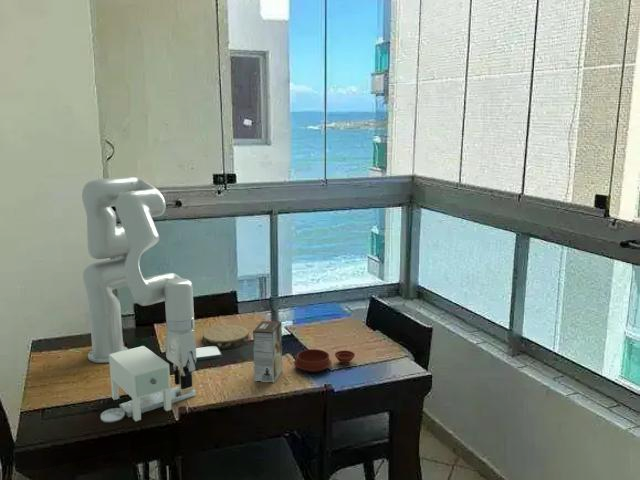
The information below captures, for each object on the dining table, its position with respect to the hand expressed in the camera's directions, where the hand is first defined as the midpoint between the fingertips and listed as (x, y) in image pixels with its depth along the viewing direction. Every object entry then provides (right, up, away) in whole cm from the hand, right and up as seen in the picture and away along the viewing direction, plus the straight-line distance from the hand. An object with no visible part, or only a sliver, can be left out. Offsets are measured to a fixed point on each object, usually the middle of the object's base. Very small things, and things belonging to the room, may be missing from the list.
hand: (183, 384), depth 166 cm
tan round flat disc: (+5, +5, +41) cm, 42 cm away
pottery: (+40, +1, +20) cm, 45 cm away
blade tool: (-6, -4, -4) cm, 8 cm away
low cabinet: (-10, -4, -5) cm, 12 cm away
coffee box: (+23, -1, +12) cm, 26 cm away
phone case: (-2, +2, +27) cm, 28 cm away
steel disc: (-16, -6, -12) cm, 21 cm away
